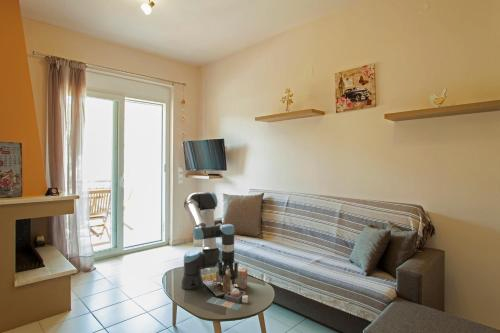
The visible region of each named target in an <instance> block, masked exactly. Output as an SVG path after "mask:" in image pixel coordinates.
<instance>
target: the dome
mask: <svg viewBox="0 0 500 333" xmlns="http://www.w3.org/2000/svg"><path fill="white" fill-rule="evenodd" d="M239 290H240V289H239V288H235V287H234V289H233V290H232V291H230V296H234V297H239V296H240V295H241V292H240V291H241V290H240V291H239Z"/></svg>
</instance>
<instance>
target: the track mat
mask: <svg viewBox="0 0 500 333" xmlns="http://www.w3.org/2000/svg"><path fill="white" fill-rule="evenodd" d="M206 303H209V304H212V305H216V306H220V307H224V308H227V309H230V310H235V311H239V309H241V307H242V306H243V304H241V303H236V302H232V301H228V300H225V299H221V298H218V297H214V296H212V297H210V298H209V299H208V300H206Z"/></svg>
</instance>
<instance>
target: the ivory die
mask: <svg viewBox="0 0 500 333" xmlns="http://www.w3.org/2000/svg"><path fill="white" fill-rule="evenodd" d="M248 302H249V295H247V294H246V295H243V297H242V300H241V303H246V304H248Z"/></svg>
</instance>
